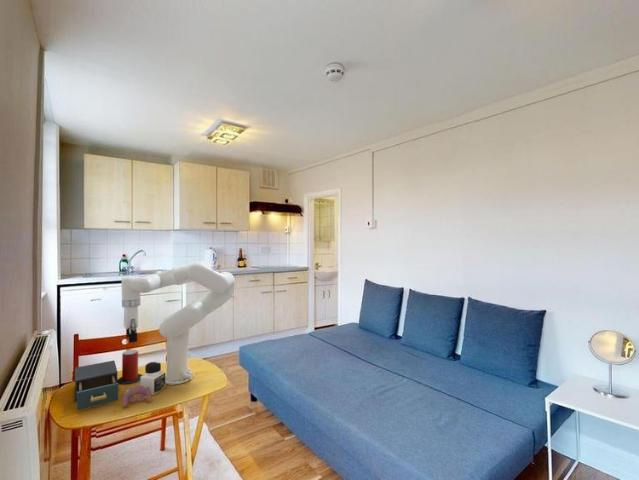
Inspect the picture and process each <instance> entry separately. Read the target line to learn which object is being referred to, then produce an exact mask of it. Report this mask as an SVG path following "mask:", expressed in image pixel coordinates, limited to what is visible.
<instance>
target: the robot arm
mask: <svg viewBox="0 0 639 480" xmlns="http://www.w3.org/2000/svg"><path fill="white" fill-rule="evenodd" d="M193 282H194V283H196V284H198V285H200V286H202V287H204V288H206V289H208V290H209V291H210V292H208V293H206V294H205V295H203V296H202V297H199V298H198V299H196V300H194V301H192V302H189V303H188V304H186V305H185V306H183V307H182V308H180V309H179V310H177V311H175V312H174V313H172V314H170V315H168V317H166V318H164V319H163V320H162V321H161V322H160V323H159V327H158V332H159V334H160V336H161V337H162V338H165V339H166V373H165V385H168V386H169V385H170V386H171V385H172V386H176V385H180V384H185V383H187V382H188V381H190V380H193V378H194V377H195V372H192V371H191V368H190V367H189V362H190V361H189V360H190V359H189V355H190V354H189V351H190V347H189V346H190V330H191V329H192V328H194V327H195V326H197V325H198V324H199V323H200V322H202V321H203V320H204V319H205V318H206V317H207V316H208V315H210V314H211V313H213V312H215V311H216V310H218V309H219V308H221V307H223V305H225V304H226V303H227V302H228V301H229V300H230V299H231V297H232V296H233V294H234V292H235V289H236V278H235V276H234V275H233V274H232V273H231V272H229V271H222V272H218V271H217V270H214V269H212V265H211V264H210V262H208V261H206V260H198V261H195V262H192V263H191V262H190V263H187V264H183V265H181V266H180V265H179V266H176V267H173V268H171V269H167V270H164V271H161V272H157V273H152V274H149V275H145V276H141V277H139V276H137V275H129V276H124V277H123V278H121V307H122V308H123V327H124V329H125V330H126V338H128V343H130V344H133V343H136V342H138V330H137V328H138V327H139V307H141V294H148V293H150V292H153V291H156V290H158V289H162V288H167V287H169V286H174V285H175V286H176V285H177V286H181V285H185V284H188V283H193Z"/></svg>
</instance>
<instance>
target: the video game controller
mask: <svg viewBox="0 0 639 480" xmlns="http://www.w3.org/2000/svg"><path fill="white" fill-rule="evenodd" d="M136 395H138V398H136ZM145 398H146V400H147V402H148V403H150V402H151V400H152V399H151V398H152V395H151V392H150V388H149V387H147V386H140V385H137V386H134V387H131V388H129V389H127V390H126V391H124V393H123V395H122V405H123V408H125V409H126V408H127V406H128V403H135V402H136V400H137V399H138V401H139V402H140V401H141V402H142V401H144V400H145Z"/></svg>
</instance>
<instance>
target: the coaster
mask: <svg viewBox="0 0 639 480" xmlns="http://www.w3.org/2000/svg"><path fill="white" fill-rule="evenodd" d="M143 375H144V374H141V373H138V378H137V379H135V380H133V381H128V382H124V381H122V376H121V377H119V378H117V383H118V385H120V386H126V385H127V386H128V385H132V384H136V383H138V382H139V383H140V377H141V376H143Z"/></svg>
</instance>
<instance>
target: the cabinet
mask: <svg viewBox="0 0 639 480" xmlns="http://www.w3.org/2000/svg"><path fill="white" fill-rule="evenodd" d="M74 373H75V374H74V402H77V392H78V391H79V382H80V381H85V380H90V379H94V378H99V377H104V376H109V375H113V374H114V378H115V382H116V383H117V381H118V373H119V372H118V368H117V365H116V361H115V360H114V359H113V360H109V361H103V362H98V363H97V362H96V363H93V364H88V365H82V366H77V367H75V372H74Z"/></svg>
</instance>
